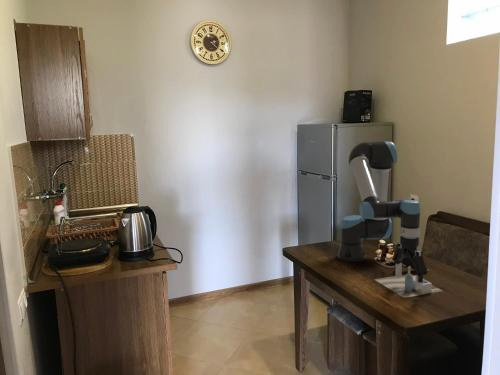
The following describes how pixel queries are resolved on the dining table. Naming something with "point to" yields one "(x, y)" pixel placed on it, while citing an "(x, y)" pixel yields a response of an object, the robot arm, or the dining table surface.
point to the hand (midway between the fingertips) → (408, 283)
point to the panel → (401, 286)
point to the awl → (408, 282)
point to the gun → (409, 263)
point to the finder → (423, 286)
